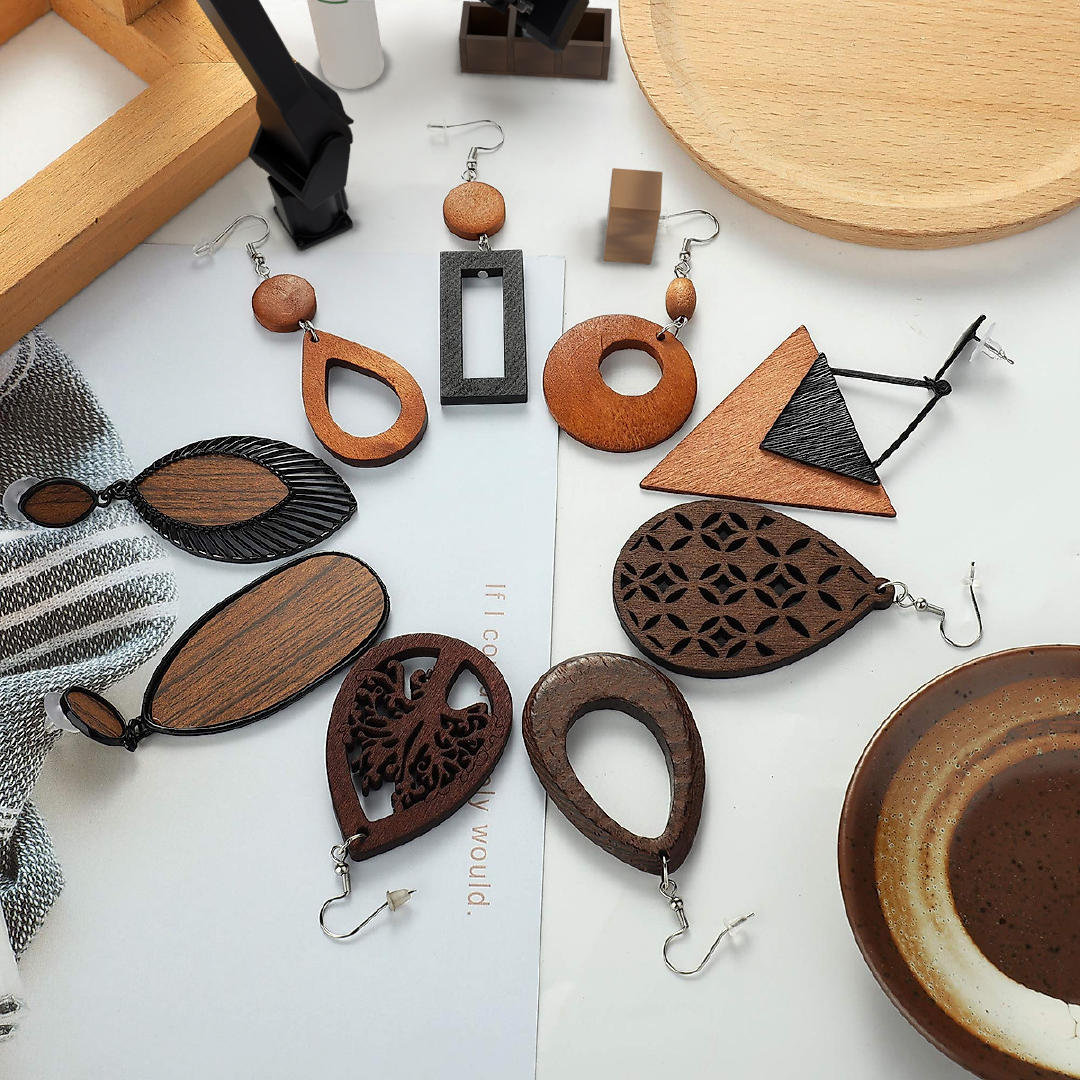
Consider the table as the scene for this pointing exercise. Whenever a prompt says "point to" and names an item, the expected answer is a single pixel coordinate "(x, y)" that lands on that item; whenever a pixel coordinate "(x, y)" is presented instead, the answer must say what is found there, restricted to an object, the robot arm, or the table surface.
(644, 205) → the tube stand
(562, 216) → the table surface
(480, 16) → the box
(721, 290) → the table surface
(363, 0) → the cylindrical container
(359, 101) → the table surface
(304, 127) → the robot arm
